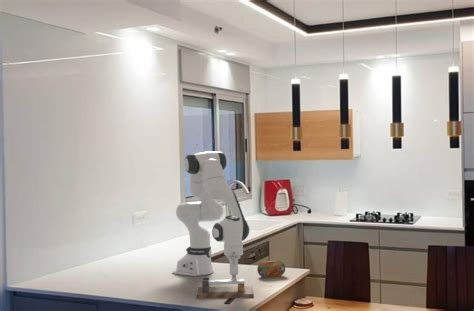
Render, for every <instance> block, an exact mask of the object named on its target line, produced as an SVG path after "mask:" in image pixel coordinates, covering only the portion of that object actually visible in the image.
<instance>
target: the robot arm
mask: <svg viewBox="0 0 474 311" xmlns="http://www.w3.org/2000/svg"><path fill="white" fill-rule="evenodd" d="M183 164H184V169H185V171H186V172H187V173H188V174H190V175H189V192H190V194H191V195H192V196H193V197H195V198H197V199H199V200H200V201H187V202H182V203H179V204H178V205H177V207H176V209H175V215H176V217H177V220H179V221H180V222H181V223H183V225H185V227H186V229H187V231H188V235H189V246H188V247H187V248H186V249H185V252H186V254H185V255H184V256H182V257H181V258H179V259H178V261H177V263H176V268H174V269H172V274H174V275H181V276H182V275H183V276H190V277H191V276H192V277H197V276H203V275H204V276H205V275H211V274H213V273H214V269H213V264H212V258H211V257H212V247H211V234H212V237H213V239H214V240H215V241H216V242H219V243H220V242H221V243H222V242H223V254H224V256H226V258H227V259H228V261H229V262H228V263H229V274H230V275H231V279H232V281H236V279H237V275H238V274H239V259H241V256H243V255H244V246H243V245H244V241H245V240H246V239H247V238H248V236H249V234H250V226H249V224H248V222H247V220H246V219H245V216H244V214H243V211H242V209H241V206H240V203H239V200H238V198H237V195H236V193H235V191H234V190H233V189H232V188H230V186H229V185H228V183H227V180H226V177H225V172H224V170H225V169H226V167H227V158H226V155H225V153H224V152H223V151H217V150H216V151H204V152H197V153H190V154H187V155H186V156H185V158H184V163H183ZM217 200H218V201H217ZM219 201H221V202H222V203H224V204H226V205H227V206H228V208H229V211H230V213H231V215H226V216H225V217H224V218H223V220H220V219H221V218H222V217H223V214H224V208H223V206H222V204H221V203H220V202H219ZM218 220H220V221H218ZM214 221H218V222H216V223H214V225H213V226H212V230H211V232H210V231H209V230H208V229H207V228H204V227H202V226H200V224H199V222H200V223H202V222H203V223H204V222H214ZM210 233H211V234H210Z"/></svg>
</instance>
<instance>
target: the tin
mask: <svg viewBox="0 0 474 311" xmlns="http://www.w3.org/2000/svg"><path fill="white" fill-rule="evenodd" d="M256 269H257V271H256V272H257V274H258V275H259V276H260V277H261V278H263V279H267V278H268V279H269V277H270V279H271V278H279V277H282V276H283V275H284V274H285V272H286V265H285V263H283V262H282V261H281V260H268V261H261V262H260V263H259V264H258V266H257V268H256Z"/></svg>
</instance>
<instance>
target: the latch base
mask: <svg viewBox="0 0 474 311" xmlns="http://www.w3.org/2000/svg"><path fill="white" fill-rule="evenodd" d="M209 280H210V276H209V277H208V276H207V277H202V280H201V282H202V283H201V285H202V286H199V287H197V290H196V299H235V298H237V299H239V298H240V297H249V298H254V289H253V286H252V285H251V286H250V285H248V286H245V283H244V284H237V286H210V285H209Z"/></svg>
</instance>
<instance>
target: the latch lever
mask: <svg viewBox="0 0 474 311" xmlns="http://www.w3.org/2000/svg"><path fill="white" fill-rule="evenodd" d="M238 284H244V285H245V278H236V281H232V278H231V279H209V286H210V285H212V286H213V285H238Z"/></svg>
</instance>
